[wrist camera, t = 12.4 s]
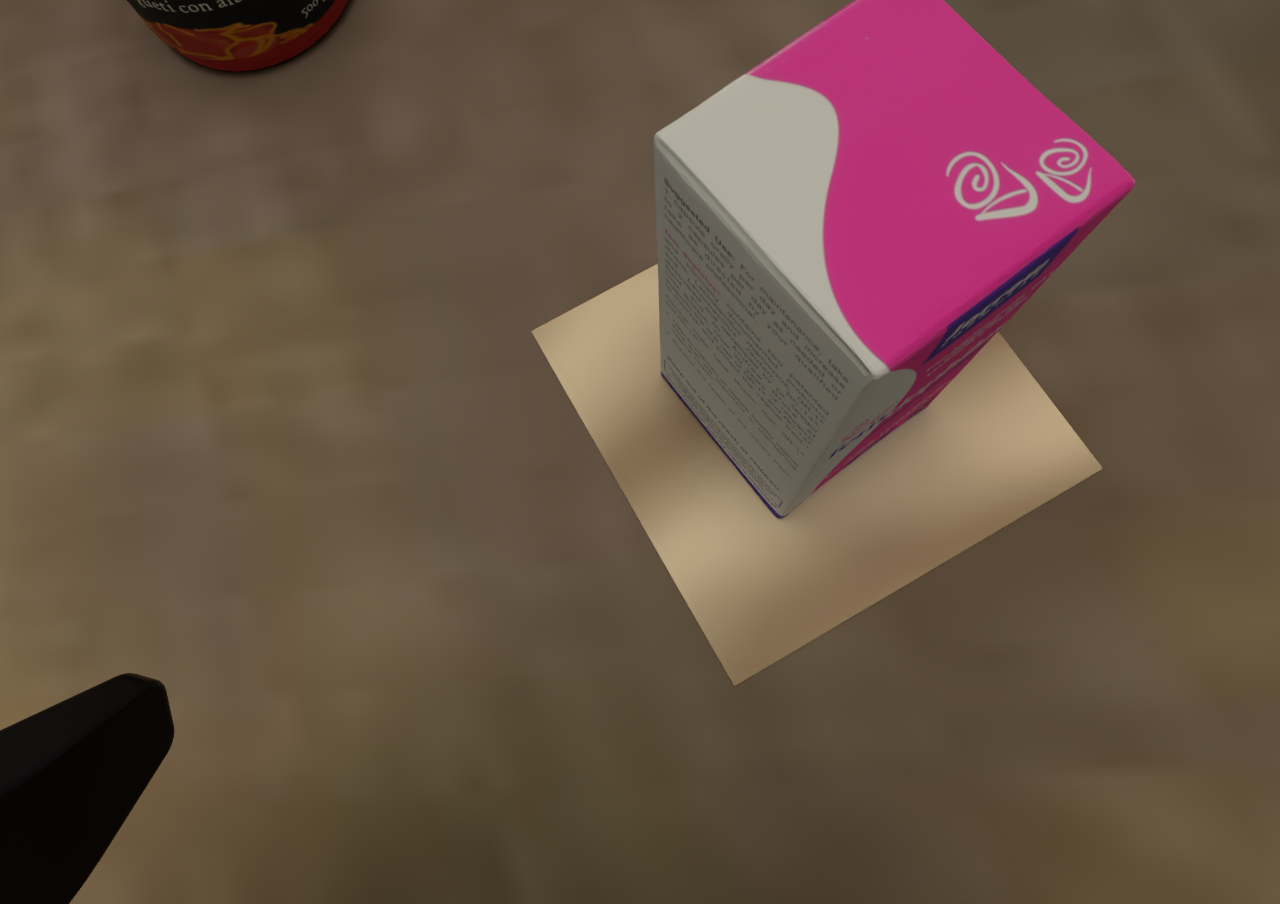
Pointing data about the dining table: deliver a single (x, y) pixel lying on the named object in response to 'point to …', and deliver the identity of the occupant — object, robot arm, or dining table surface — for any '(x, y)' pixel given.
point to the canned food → (239, 28)
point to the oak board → (831, 516)
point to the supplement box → (857, 234)
